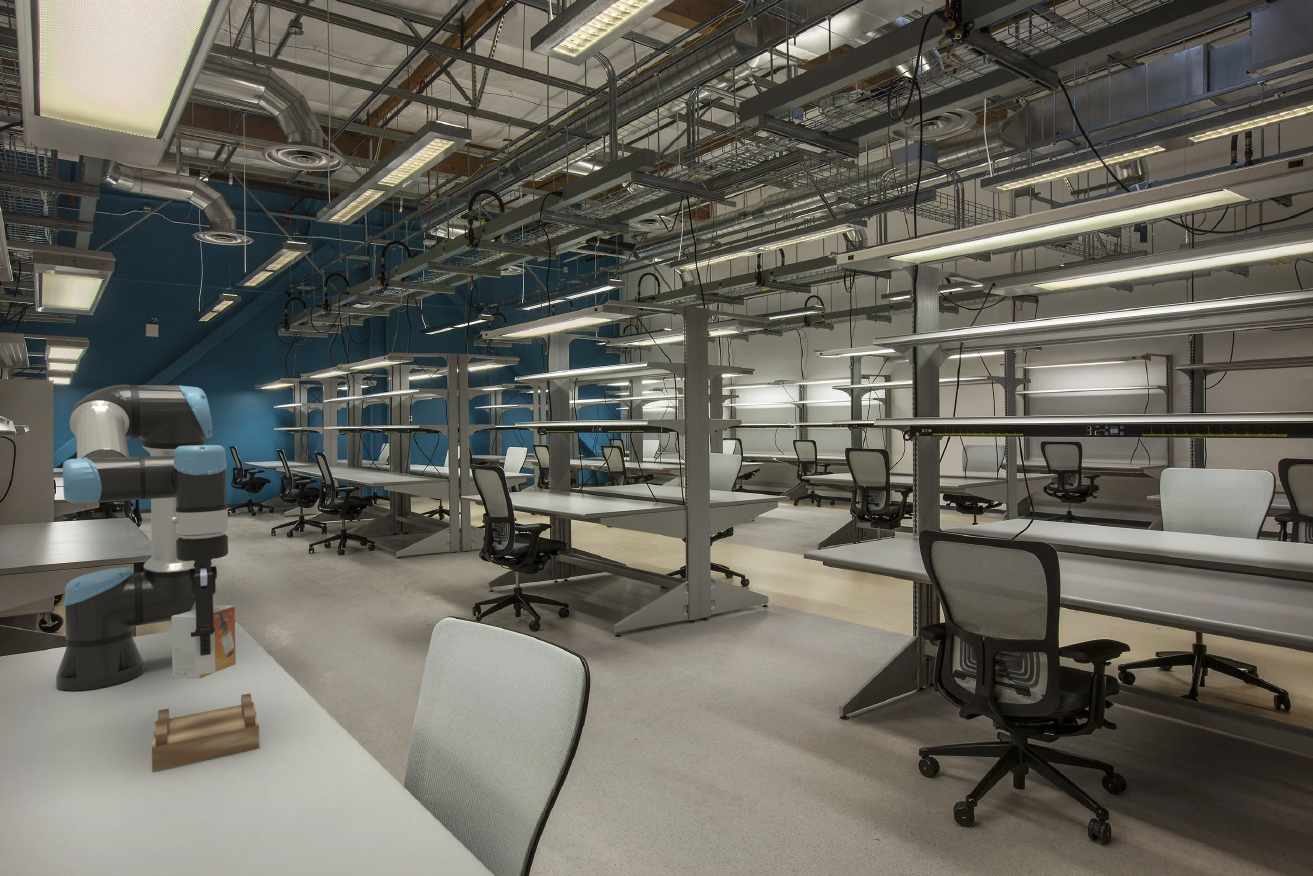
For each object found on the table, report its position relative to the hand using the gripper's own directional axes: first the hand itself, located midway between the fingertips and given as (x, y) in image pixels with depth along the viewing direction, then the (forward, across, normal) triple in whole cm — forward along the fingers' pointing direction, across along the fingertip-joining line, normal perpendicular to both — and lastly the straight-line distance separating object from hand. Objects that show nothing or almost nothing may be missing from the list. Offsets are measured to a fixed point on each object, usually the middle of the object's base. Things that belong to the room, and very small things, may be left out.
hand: (205, 664), depth 123 cm
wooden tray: (+14, 0, 0) cm, 14 cm away
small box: (+1, 0, 0) cm, 1 cm away
